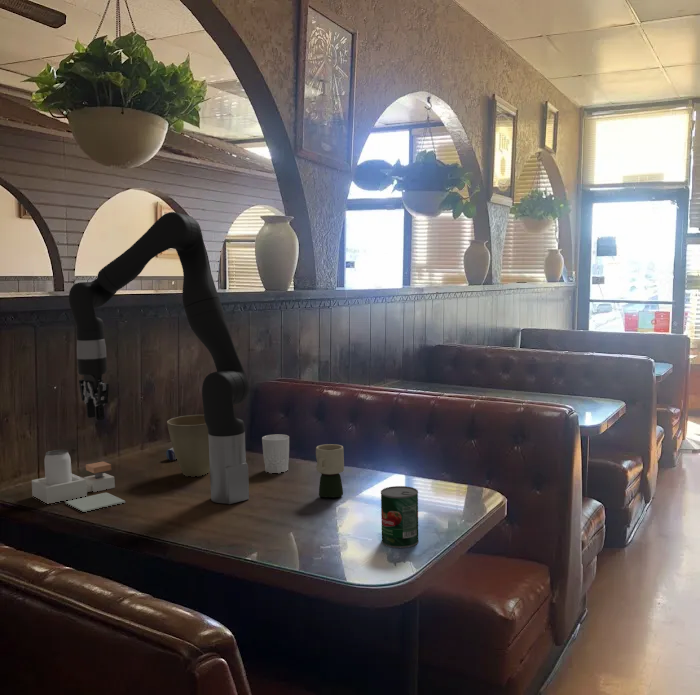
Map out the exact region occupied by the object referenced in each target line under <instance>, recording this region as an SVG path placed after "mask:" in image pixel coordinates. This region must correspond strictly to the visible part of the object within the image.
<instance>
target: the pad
mask: <svg viewBox="0 0 700 695" xmlns="http://www.w3.org/2000/svg"><path fill="white" fill-rule="evenodd" d="M64 502H65V505H67V504H68V505H67V506H69V505H70V506H69V507H71V506H72V507H71V508H73V507H74V508H76V509H78V510H80V511H82V512H86V513H88V512H87V511H91V510H95V509H99V508H102V507H107V508H109V507H108V506H111V507H113V506H112V505H116V506H118V505H117V504H120V505H123V504H122V503H124V504H126V500H124V499H122V498H120V497H118V496H115V495H113V494H111V493H109V492H102V493H97V494H93V495H87V496H86V497H82V498H77V499H73V500H68V501H64ZM74 508H73V509H74ZM76 509H75V510H76ZM78 510H77V511H78ZM99 510H100V509H99ZM80 511H79V512H80ZM95 511H96V510H95ZM82 512H81V513H82ZM91 512H92V511H91Z"/></svg>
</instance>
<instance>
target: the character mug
mask: <svg viewBox="0 0 700 695" xmlns="http://www.w3.org/2000/svg"><path fill="white" fill-rule="evenodd" d="M344 450H345V449H344V446H343V445H341V444H336V443H334V444H331V443H329V444H328V443H326V444H320V445H317V446H316V447H315V458H316V467H315V468H316V471H317V472H318V473H319V474H320V479H319V487H318V496H319V497H320V498H321V497H322V498H323V497H324V498H327V499H330V498H339V497H342V496H343V495H344V490H343V489H344V488H343V482H342V476H341V474H340V473H342V472H344V470H345V460H344V459H345V458H344V457H345V455H344V454H345V453H344V452H345V451H344Z"/></svg>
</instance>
